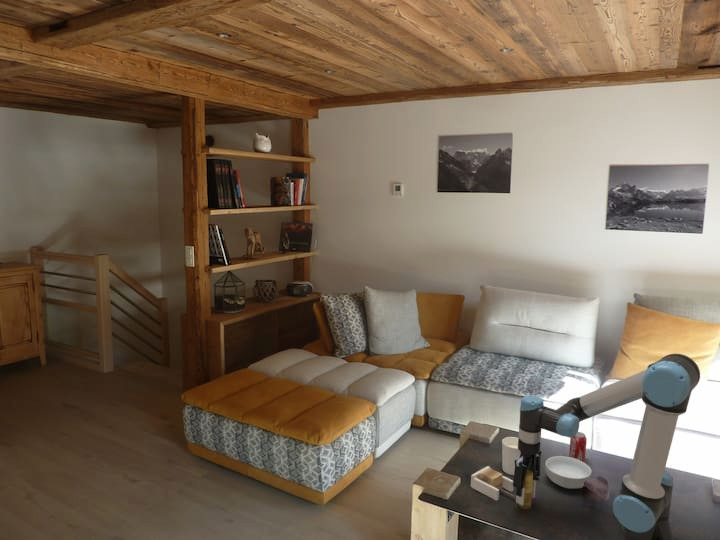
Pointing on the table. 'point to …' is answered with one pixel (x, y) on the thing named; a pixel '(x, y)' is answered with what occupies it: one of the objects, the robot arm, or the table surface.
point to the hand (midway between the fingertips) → (525, 499)
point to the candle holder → (510, 454)
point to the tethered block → (496, 481)
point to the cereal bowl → (567, 471)
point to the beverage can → (578, 447)
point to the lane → (487, 488)
